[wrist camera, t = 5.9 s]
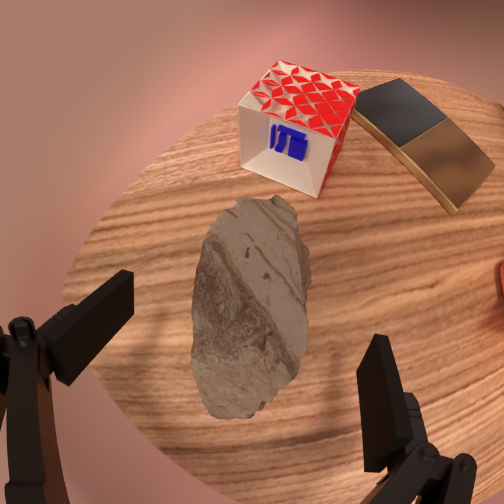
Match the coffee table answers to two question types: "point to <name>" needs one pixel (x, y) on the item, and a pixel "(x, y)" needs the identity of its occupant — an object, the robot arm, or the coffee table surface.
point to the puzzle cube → (294, 125)
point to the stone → (249, 307)
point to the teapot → (502, 275)
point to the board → (424, 141)
